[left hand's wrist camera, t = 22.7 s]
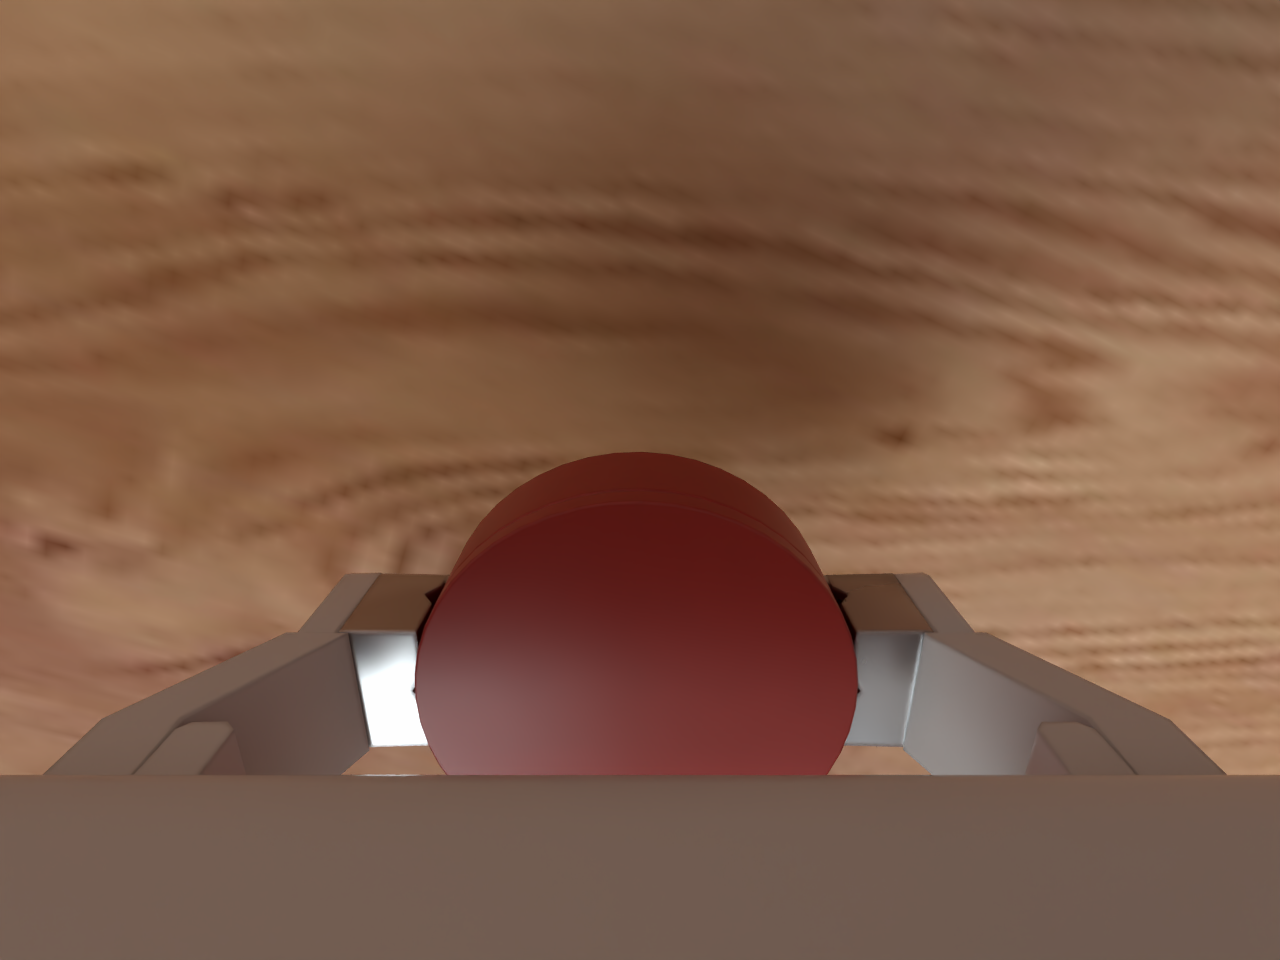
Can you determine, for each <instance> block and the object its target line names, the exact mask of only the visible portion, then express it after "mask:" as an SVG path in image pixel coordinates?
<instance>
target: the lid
mask: <svg viewBox="0 0 1280 960" xmlns="http://www.w3.org/2000/svg"><path fill="white" fill-rule="evenodd" d="M414 676H415V699H416V704H417V709H418V714H419V719H420V723H421V726H422V729H423V732H424V734H425V737H426V740H427V743H428V745H429V747H430V749H431V751H432V752H433V754H434V756H435V758H436V760H437V762H438V763H439V765H440V767H441V768H442V769H443V771H444V772H445V773H446V775H827V774H828V773H829V771H830V769H831V768H832V766H833V764H834V763H835V761H836V759H837V758H838V756H839V755H840V753H841V751H842V748H843V746H844V744H845V741H846V739H847V737H848V734H849V732H850V729H851V725H852V721H853V717H854V713H855V710H856V702H857V692H858V670H857V658H856V654H855V649H854V645H853V641H852V636H851V634H850V631H849V629H848V626H847V624H846V621H845V619H844V616H843V614H842V612H841V610H840V608H839V606H838V604H837V602H836V600H835V598H834V596H833V594H832V592H831V590H830V588H829V586H828V584H827V582H826V580H825V578H824V576H823V574H822V572H821V570H820V568H819V566H818V564H817V562H816V560H815V558H814V556H813V554H812V552H811V550H810V548H809V546H808V545H807V543H806V541H805V540H804V538H803V537H802V535H801V533H800V532H799V530H798V529H797V527H796V526H795V525H794V524H793V523H792V521H791V520H790V519H789V518H788V517H787V515H786V514H785V513H784V512H783V511H782V510H781V509H780V508H779V507H778V506H777V505H776V504H775V503H773V502H772V501H771V500H770V499H769V498H768V497H767V496H766V495H765V494H763V493H762V492H760V491H759V490H757V489H756V488H754V487H753V486H751V485H750V484H748V483H747V482H746V481H744V480H742V479H740V478H738V477H736V476H734V475H732V474H730V473H728V472H726V471H724V470H722V469H720V468H717V467H714V466H711V465H708V464H706V463H703V462H700V461H697V460H693V459H689V458H684V457H679V456H675V455H670V454H659V453H648V452H629V453H612V454H606V455H599V456H593V457H587V458H584V459H581V460H577V461H574V462H570V463H567V464H564V465H561V466H559V467H556V468H554V469H552V470H550V471H547V472H545V473H543V474H540V475H538V476H537V477H535V478H533V479H532V480H530V481H528V482H527V483H525V484H523V485H522V486H520V487H518V488H517V489H515V490H514V491H513V492H512V493H511V494H509V495H508V496H507V497H506V498H504V499H503V500H502V501H501V502H499V503H498V504H497V505H496V506H495V507H494V508H493V509H492V510H491V512H490V513H489V514H488V515H487V516H486V517H485V518H484V519H483V520H482V521H481V522H480V524H479V525H478V527H477V528H476V530H475V531H474V533H473V534H472V536H471V537H470V538H469V540H468V541H467V543H466V545H465V547H464V549H463V551H462V553H461V555H460V557H459V559H458V561H457V563H456V565H455V566H454V568H453V570H452V572H451V574H450V576H449V578H448V580H447V582H446V584H445V586H444V588H443V590H442V592H441V594H440V595H439V597H438V599H437V601H436V603H435V605H434V607H433V609H432V612H431V614H430V616H429V618H428V620H427V622H426V624H425V626H424V629H423V633H422V636H421V640H420V643H419V646H418V650H417V657H416V665H415V673H414Z"/></svg>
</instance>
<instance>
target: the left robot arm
mask: <svg viewBox="0 0 1280 960" xmlns="http://www.w3.org/2000/svg"><path fill="white" fill-rule="evenodd" d="M449 576H450V575H438V574H382V573H353V574H346V575H344V576H343V577H342V579H341V580H340V581H339V582H338V583H337V585H336V586H335V587H334V588H333V590H332V591H331V592H330V593H329V594H328V596H327V597H326V598H325V599H324V601H323V602H322V603H321V604H320V605H319V607H318V608H317V609H316V610H315V612H314V613H313V614H312V615H311V616H310V618H309V619H308V620H307V621H306V623H305V624H304V625H303V626H302V627H301V629H300V630H299V631H298V632H297V633H284V634H282V635H280V636H278V637H276V638H274V639H272V640H269V641H267V642H265V643H263V644H261V645H259V646H257V647H254V648H252V649H250V650H248V651H246V652H244V653H242V654H240V655H237V656H235V657H233V658H231V659H229V660H227V661H225V662H222V663H220V664H218V665H216V666H214V667H212V668H210V669H207V670H205V671H203V672H201V673H199V674H197V675H195V676H193V677H190V678H188V679H186V680H184V681H182V682H180V683H178V684H175V685H173V686H171V687H169V688H167V689H165V690H163V691H160V692H158V693H156V694H154V695H152V696H150V697H148V698H146V699H143V700H141V701H139V702H137V703H135V704H133V705H131V706H128V707H126V708H124V709H122V710H120V711H118V712H116V713H113V714H111V715H109V716H107V717H105V718H103V719H101V720H100V721H99V722H98V723H97V724H96V725H95V726H94V727H93V728H92V729H91V730H90V731H89V732H88V733H86V734H85V735H84V736H83V737H82V738H81V739H80V740H79V741H78V742H77V743H76V744H75V745H74V746H73V747H72V748H71V749H69V750H68V751H67V752H66V753H65V754H64V755H63V756H62V757H61V758H60V759H59V760H58V761H57V762H56V763H55V764H54V765H52V766H51V767H50V768H49V769H48V770H47V771H46V772H45V773H44V774H43V775H0V960H1280V775H1227V774H1226V773H1225V772H1224V771H1223V770H1222V769H1220V768H1219V767H1218V766H1217V765H1216V764H1215V763H1214V762H1213V761H1212V760H1211V759H1210V758H1209V757H1208V756H1207V755H1206V754H1205V753H1204V752H1203V751H1202V750H1201V749H1200V748H1199V747H1198V746H1197V745H1196V744H1195V743H1194V742H1193V741H1191V740H1190V739H1189V738H1188V737H1187V736H1186V735H1185V734H1184V733H1183V732H1182V731H1181V730H1180V729H1179V728H1178V727H1177V726H1176V725H1175V724H1174V723H1173V722H1172V721H1171V720H1169V719H1167V718H1165V717H1163V716H1161V715H1159V714H1157V713H1155V712H1152V711H1150V710H1148V709H1146V708H1144V707H1142V706H1140V705H1138V704H1136V703H1133V702H1131V701H1129V700H1127V699H1125V698H1123V697H1121V696H1119V695H1117V694H1115V693H1112V692H1110V691H1108V690H1106V689H1104V688H1102V687H1100V686H1098V685H1096V684H1093V683H1091V682H1089V681H1087V680H1085V679H1083V678H1081V677H1079V676H1077V675H1074V674H1072V673H1070V672H1068V671H1066V670H1064V669H1062V668H1060V667H1058V666H1055V665H1053V664H1051V663H1049V662H1047V661H1045V660H1043V659H1041V658H1039V657H1036V656H1034V655H1032V654H1030V653H1028V652H1026V651H1024V650H1022V649H1020V648H1017V647H1015V646H1013V645H1011V644H1009V643H1007V642H1005V641H1003V640H1001V639H998V638H996V637H994V636H992V635H990V634H988V633H975V632H974V631H973V629H972V628H971V627H970V626H969V624H968V623H967V622H966V621H965V619H964V618H963V617H962V616H961V614H960V613H959V612H958V611H957V609H956V608H955V607H954V606H953V604H952V603H951V602H950V601H949V599H948V598H947V597H946V596H945V594H944V593H943V592H942V591H941V590H940V588H939V587H938V586H937V585H936V583H935V582H934V581H933V580H932V578H931V577H930V576H929V575H927V574H924V573H902V574H893V573H891V574H850V575H825V576H824V578H825V580H826V582H827V584H828V586H829V588H830V590H831V592H832V594H833V596H834V598H835V600H836V602H837V604H838V606H839V608H840V610H841V612H842V614H843V616H844V619H845V621H846V624H847V626H848V629H849V631H850V634H851V636H852V641H853V645H854V649H855V654H856V658H857V670H858V692H857V702H856V710H855V713H854V717H853V721H852V725H851V729H850V732H849V734H848V737H847V739H846V741H845V744H844V745H851V746H888V747H904V748H903V750H904V751H905V752H907V753H908V754H909V755H910V756H911V757H912V758H913V759H915V760H916V761H917V762H918V763H919V764H920V765H922V766H923V767H924V768H925V769H926V770H927V771H928V772H930V773H931V774H932V775H341V774H342V773H343V772H345V771H346V770H347V769H348V768H349V767H350V766H352V765H353V764H354V763H355V762H356V761H357V760H359V759H360V758H361V757H362V756H363V755H364V754H366V753H367V752H368V751H369V747H385V746H420V745H428V743H427V740H426V737H425V734H424V732H423V729H422V726H421V723H420V719H419V714H418V709H417V704H416V699H415V676H414V673H415V665H416V657H417V650H418V646H419V643H420V640H421V636H422V633H423V629H424V626H425V624H426V622H427V620H428V618H429V616H430V614H431V612H432V609H433V607H434V605H435V603H436V601H437V599H438V597H439V595H440V594H441V592H442V590H443V588H444V586H445V584H446V582H447V580H448V578H449Z"/></svg>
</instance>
